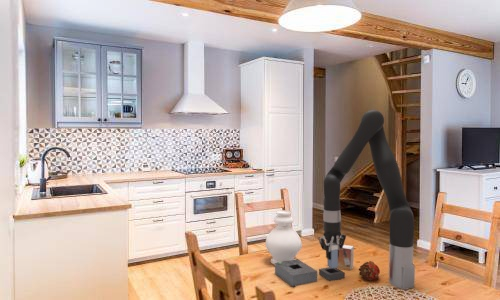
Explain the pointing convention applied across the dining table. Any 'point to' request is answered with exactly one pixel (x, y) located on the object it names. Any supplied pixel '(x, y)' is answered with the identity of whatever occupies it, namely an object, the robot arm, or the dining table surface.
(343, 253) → the small box
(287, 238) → the decorative vase
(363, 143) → the robot arm
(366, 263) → the dragon fruit
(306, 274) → the port
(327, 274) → the holster
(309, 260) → the dining table surface
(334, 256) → the plug
